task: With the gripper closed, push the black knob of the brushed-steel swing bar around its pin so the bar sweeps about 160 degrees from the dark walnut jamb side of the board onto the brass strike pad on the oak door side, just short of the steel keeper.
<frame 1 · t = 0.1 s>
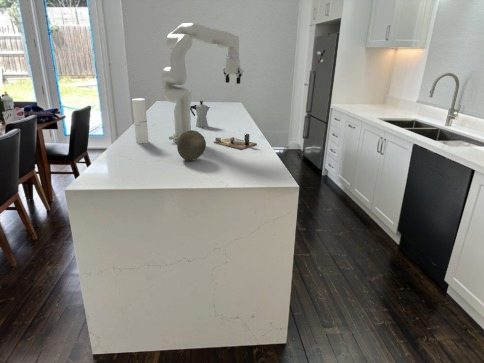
hand: (232, 83, 228), 31 cm above the countertop, fingers open, 9 cm apart
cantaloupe: (192, 160, 173), on the countertop
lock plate: (235, 143, 203), on the countertop
swing bar: (239, 138, 198), point 4 cm above the countertop, hinge at 0.0°
cylindrical container: (142, 142, 203), on the countertop
coffee maker: (200, 126, 246), on the countertop
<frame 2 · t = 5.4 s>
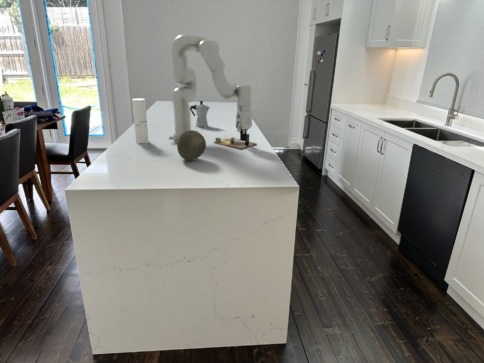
hand: (243, 140, 194), 4 cm above the countertop, fingers closed
swing bar: (239, 138, 198), point 4 cm above the countertop, hinge at 0.2°, touching gripper
everything else where it was.
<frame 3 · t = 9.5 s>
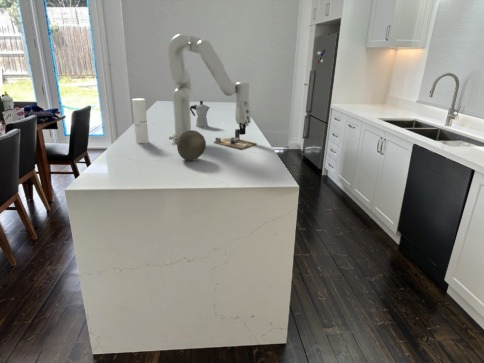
hand: (242, 134, 206), 5 cm above the countertop, fingers closed
swing bar: (235, 135, 204), point 4 cm above the countertop, hinge at 92.0°, touching gripper
everything else where it was.
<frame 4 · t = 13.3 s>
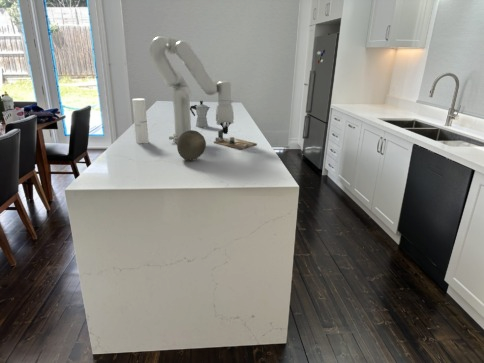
hand: (225, 133, 206), 5 cm above the countertop, fingers closed
swing bar: (226, 136, 202), point 4 cm above the countertop, hinge at 163.9°, touching gripper
everything else where it was.
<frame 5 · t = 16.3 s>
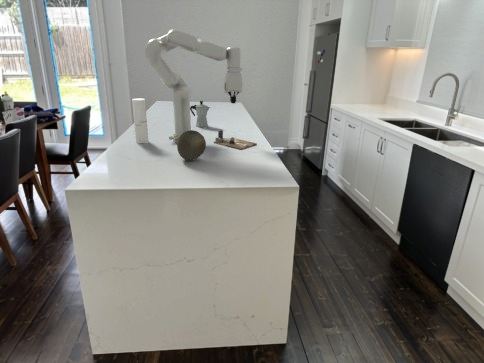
hand: (233, 103, 200), 23 cm above the countertop, fingers closed
swing bar: (226, 136, 202), point 4 cm above the countertop, hinge at 164.0°
everything else where it was.
at the end: swing bar at +164° (first picture: +0°); swing bar touching nothing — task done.
